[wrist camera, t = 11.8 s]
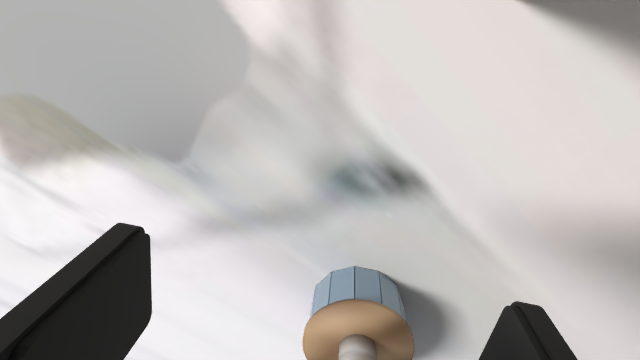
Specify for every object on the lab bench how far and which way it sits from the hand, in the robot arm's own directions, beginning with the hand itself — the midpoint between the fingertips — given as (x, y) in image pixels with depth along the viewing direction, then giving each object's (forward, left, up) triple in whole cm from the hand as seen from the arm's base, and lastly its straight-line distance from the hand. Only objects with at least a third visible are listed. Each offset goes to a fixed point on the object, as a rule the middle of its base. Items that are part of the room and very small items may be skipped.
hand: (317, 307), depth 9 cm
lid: (-18, +18, -22) cm, 34 cm away
